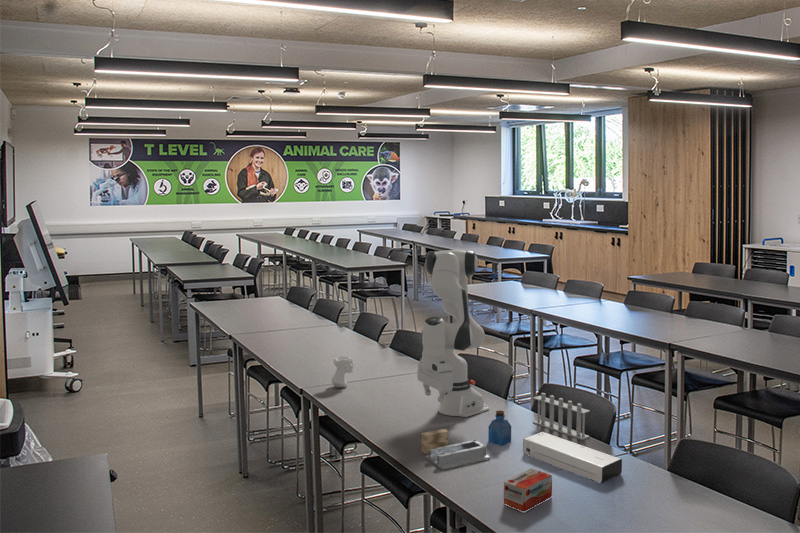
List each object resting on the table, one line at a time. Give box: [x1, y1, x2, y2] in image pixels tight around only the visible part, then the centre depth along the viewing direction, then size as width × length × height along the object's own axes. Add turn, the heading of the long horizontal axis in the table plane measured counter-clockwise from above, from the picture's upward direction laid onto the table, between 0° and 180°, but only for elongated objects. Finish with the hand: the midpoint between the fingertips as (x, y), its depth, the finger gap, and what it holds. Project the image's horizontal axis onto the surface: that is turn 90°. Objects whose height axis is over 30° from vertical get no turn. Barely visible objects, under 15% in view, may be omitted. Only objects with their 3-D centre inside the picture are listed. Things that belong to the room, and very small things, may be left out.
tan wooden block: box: [420, 428, 450, 455], centre depth 256 cm, size 10×3×7 cm, turn 118°
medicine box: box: [503, 467, 553, 511], centre depth 213 cm, size 15×8×8 cm, turn 135°
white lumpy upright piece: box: [331, 355, 355, 388], centre depth 335 cm, size 10×11×15 cm
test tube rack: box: [532, 392, 591, 441], centre depth 275 cm, size 25×4×13 cm, turn 39°
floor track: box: [425, 439, 491, 471], centre depth 247 cm, size 20×12×4 cm, turn 118°
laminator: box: [522, 431, 623, 484], centre depth 242 cm, size 34×12×6 cm, turn 39°
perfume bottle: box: [487, 410, 512, 447], centre depth 263 cm, size 6×6×12 cm
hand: (434, 398), depth 254 cm, fingers open, 8 cm apart
